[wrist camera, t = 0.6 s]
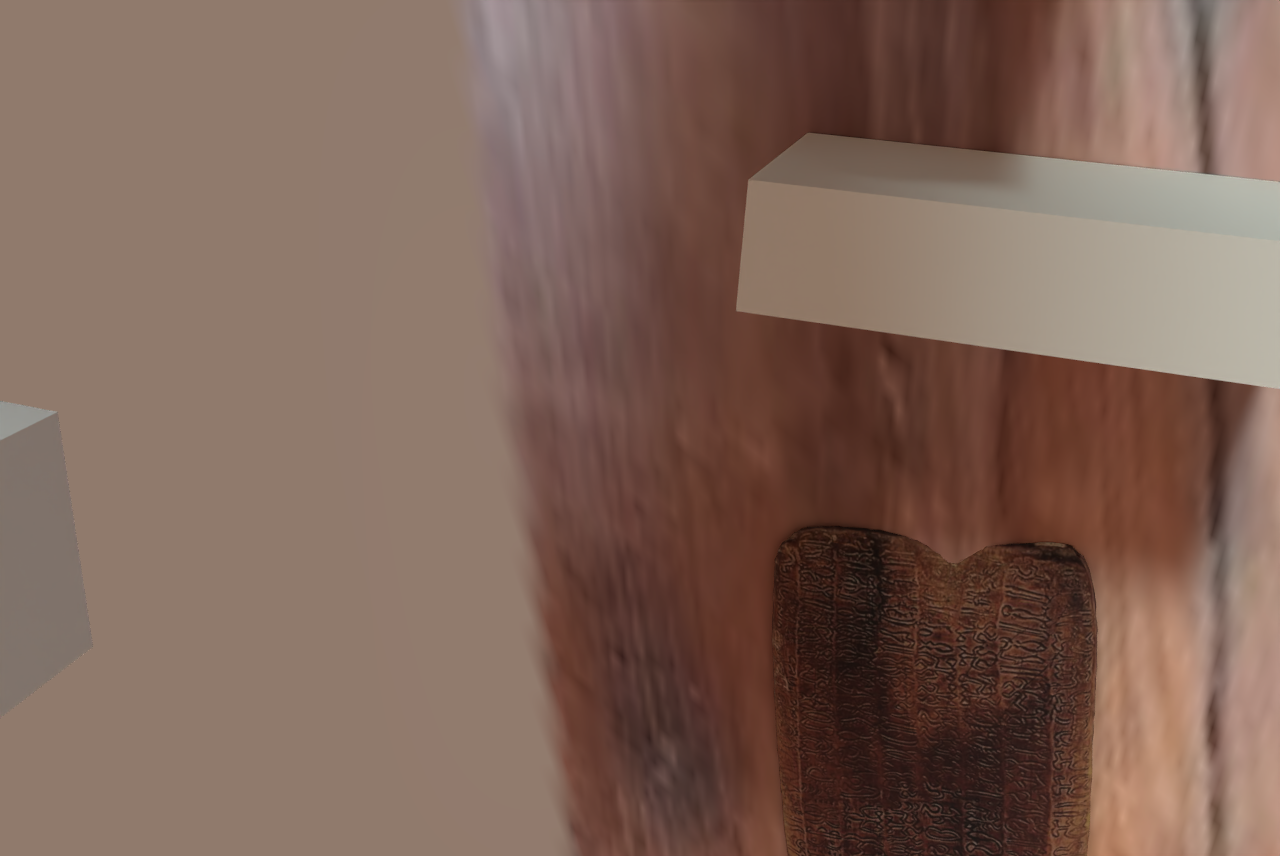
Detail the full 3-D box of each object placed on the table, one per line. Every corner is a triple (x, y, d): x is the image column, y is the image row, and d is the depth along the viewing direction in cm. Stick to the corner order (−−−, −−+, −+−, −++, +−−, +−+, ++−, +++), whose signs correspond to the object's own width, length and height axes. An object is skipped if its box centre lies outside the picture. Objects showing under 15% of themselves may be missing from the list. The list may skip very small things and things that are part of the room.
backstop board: (808, 132, 34) (748, 179, 26) (1318, 185, 30) (1407, 255, 23) (795, 238, 35) (735, 311, 28) (1286, 300, 31) (1362, 400, 24)
